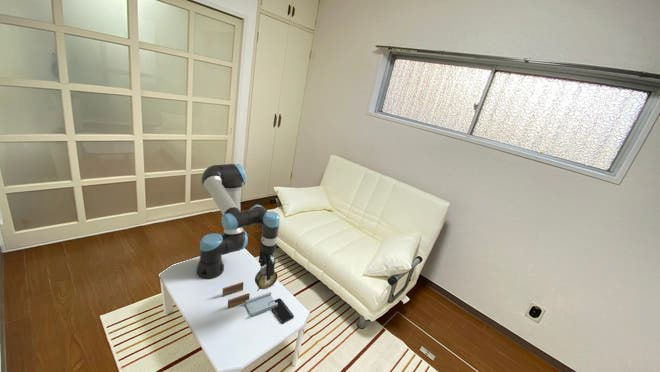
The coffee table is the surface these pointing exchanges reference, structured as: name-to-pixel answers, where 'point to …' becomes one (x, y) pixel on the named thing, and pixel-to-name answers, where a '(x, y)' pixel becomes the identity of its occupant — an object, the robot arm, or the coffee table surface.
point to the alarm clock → (264, 279)
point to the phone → (282, 311)
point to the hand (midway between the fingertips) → (264, 279)
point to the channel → (237, 300)
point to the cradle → (260, 304)
